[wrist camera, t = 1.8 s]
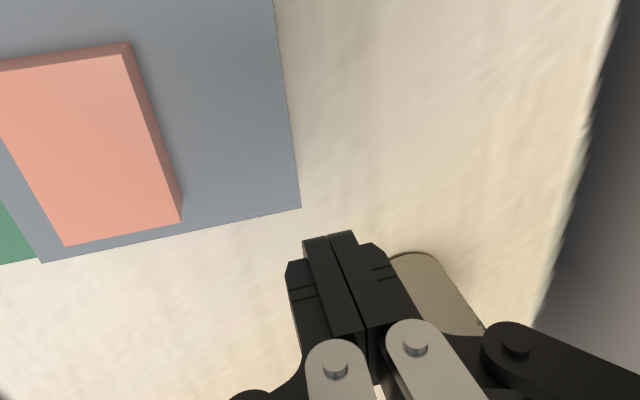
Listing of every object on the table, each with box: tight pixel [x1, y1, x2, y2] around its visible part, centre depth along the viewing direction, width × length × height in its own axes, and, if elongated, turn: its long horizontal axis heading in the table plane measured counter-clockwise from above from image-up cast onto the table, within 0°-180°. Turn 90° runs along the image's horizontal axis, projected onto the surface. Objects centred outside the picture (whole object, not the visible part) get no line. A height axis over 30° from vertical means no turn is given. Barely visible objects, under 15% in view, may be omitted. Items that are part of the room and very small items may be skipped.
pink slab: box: [0, 41, 183, 247], centre depth 20 cm, size 9×6×2 cm, turn 5°
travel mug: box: [390, 254, 486, 336], centre depth 32 cm, size 8×8×18 cm
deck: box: [0, 0, 302, 264], centre depth 23 cm, size 14×16×4 cm
